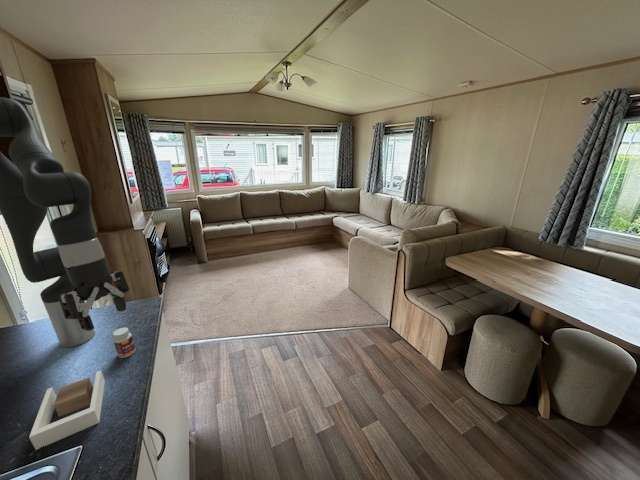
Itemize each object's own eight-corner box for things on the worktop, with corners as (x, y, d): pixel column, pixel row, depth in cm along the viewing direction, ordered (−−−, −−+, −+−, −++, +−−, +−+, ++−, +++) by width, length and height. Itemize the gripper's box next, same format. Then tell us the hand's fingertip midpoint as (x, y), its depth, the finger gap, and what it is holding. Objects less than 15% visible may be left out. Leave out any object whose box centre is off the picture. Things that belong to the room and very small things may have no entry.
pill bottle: (126, 359, 83) (120, 337, 80) (114, 357, 84) (107, 335, 81) (139, 348, 87) (133, 327, 85) (127, 346, 88) (121, 325, 86)
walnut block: (64, 399, 70) (59, 387, 69) (93, 388, 73) (89, 377, 72) (59, 417, 65) (53, 405, 64) (90, 405, 68) (85, 393, 67)
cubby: (52, 400, 70) (47, 389, 68) (104, 381, 75) (100, 370, 74) (35, 449, 58) (29, 437, 57) (99, 422, 64) (94, 410, 62)
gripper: (101, 250, 70) (119, 305, 74) (36, 271, 57) (64, 336, 61) (124, 249, 68) (142, 305, 73) (63, 270, 55) (90, 337, 59)
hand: (106, 319), depth 67 cm, fingers open, 8 cm apart
